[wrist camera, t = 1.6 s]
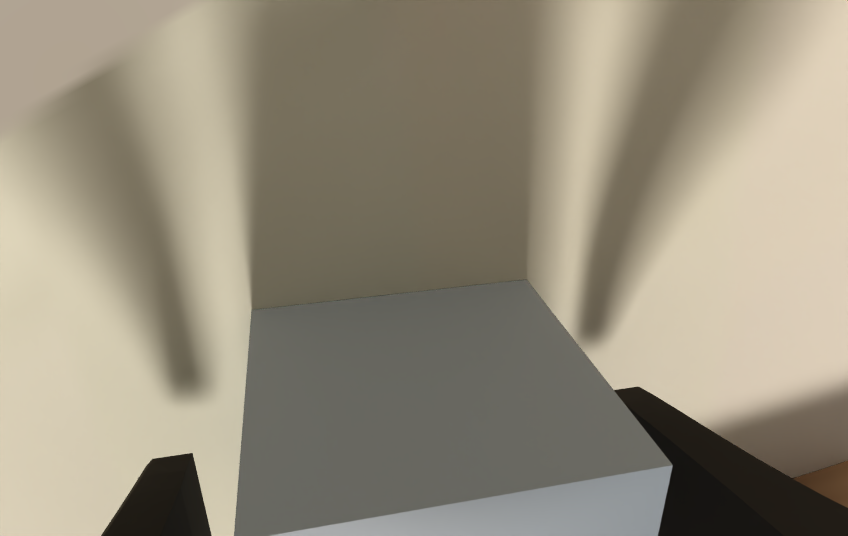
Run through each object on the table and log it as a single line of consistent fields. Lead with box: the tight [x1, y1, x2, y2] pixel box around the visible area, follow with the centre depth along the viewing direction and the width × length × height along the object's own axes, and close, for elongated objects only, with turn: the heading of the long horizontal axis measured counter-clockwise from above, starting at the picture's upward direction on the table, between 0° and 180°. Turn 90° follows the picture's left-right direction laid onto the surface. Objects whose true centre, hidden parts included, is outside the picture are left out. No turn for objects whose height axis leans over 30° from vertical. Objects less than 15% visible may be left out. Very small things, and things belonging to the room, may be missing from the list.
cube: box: [234, 280, 673, 536], centre depth 10 cm, size 5×5×5 cm
